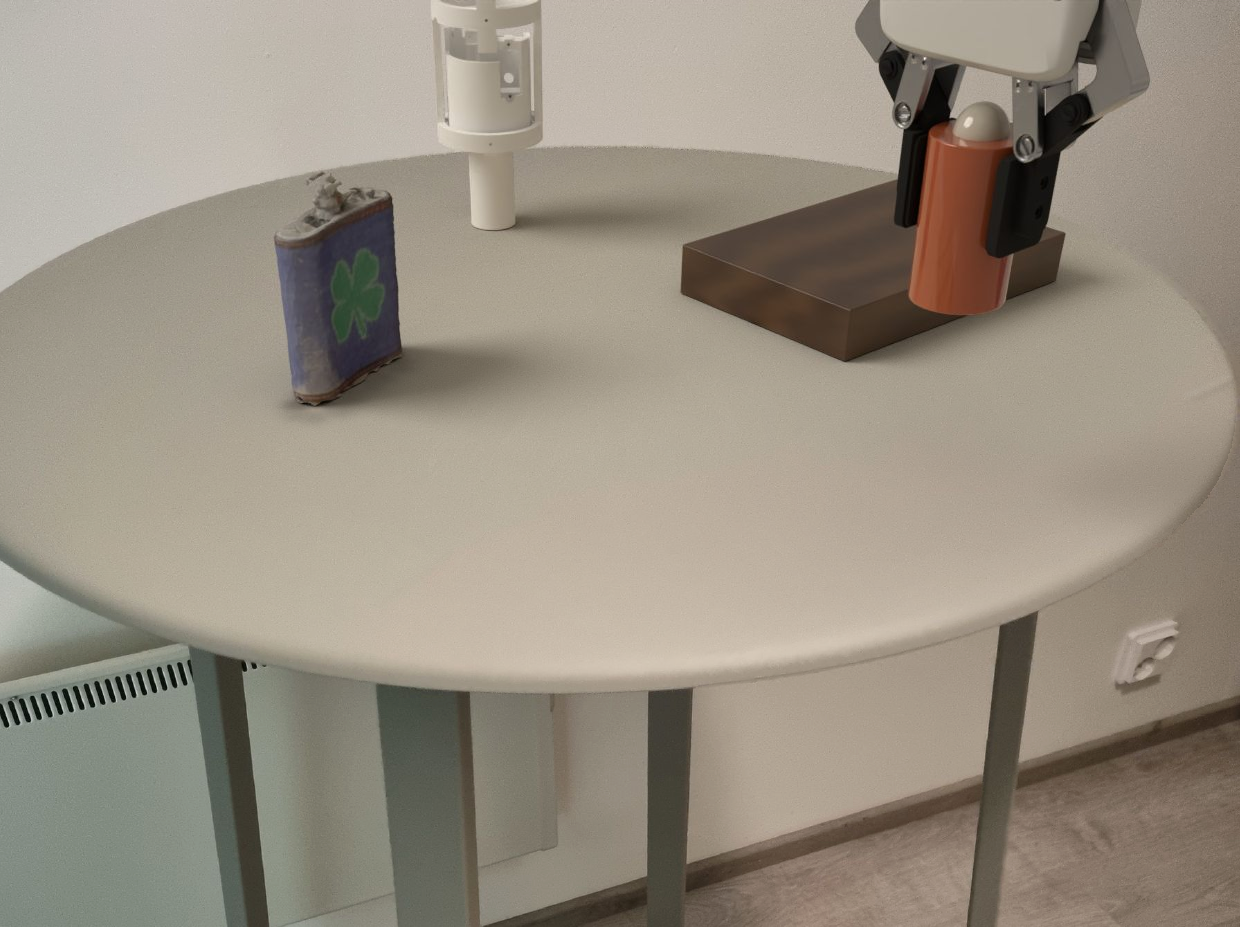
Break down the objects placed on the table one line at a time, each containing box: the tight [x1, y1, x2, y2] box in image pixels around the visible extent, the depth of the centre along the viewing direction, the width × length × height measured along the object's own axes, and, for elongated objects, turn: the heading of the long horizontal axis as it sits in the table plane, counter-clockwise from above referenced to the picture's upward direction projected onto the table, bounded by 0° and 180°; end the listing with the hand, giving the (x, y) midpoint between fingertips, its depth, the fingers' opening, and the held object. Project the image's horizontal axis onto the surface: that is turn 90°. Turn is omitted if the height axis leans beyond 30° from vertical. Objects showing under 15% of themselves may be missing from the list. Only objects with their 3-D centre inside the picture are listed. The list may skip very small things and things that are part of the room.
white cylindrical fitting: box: [429, 0, 544, 231], centre depth 100 cm, size 7×7×15 cm
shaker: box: [908, 100, 1014, 316], centre depth 66 cm, size 4×4×8 cm
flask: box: [273, 170, 403, 406], centre depth 82 cm, size 9×3×11 cm, turn 151°
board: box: [680, 178, 1067, 362], centre depth 95 cm, size 14×20×3 cm
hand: (966, 230), depth 67 cm, fingers closed on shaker, 4 cm apart
